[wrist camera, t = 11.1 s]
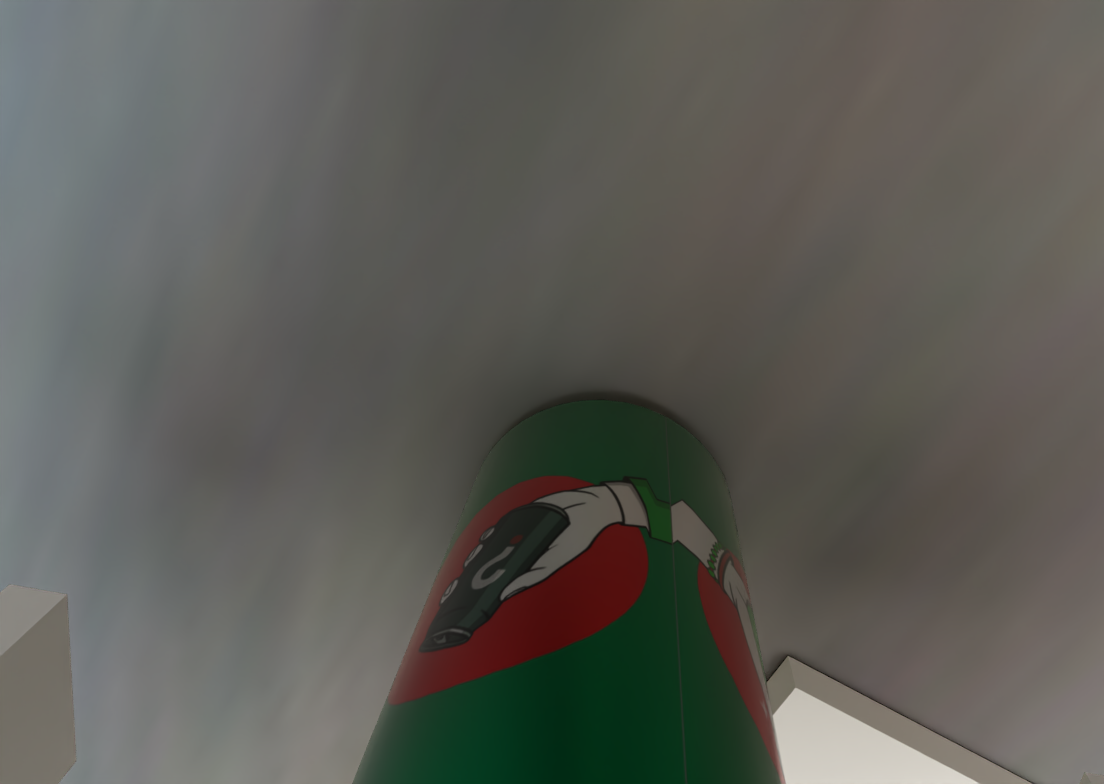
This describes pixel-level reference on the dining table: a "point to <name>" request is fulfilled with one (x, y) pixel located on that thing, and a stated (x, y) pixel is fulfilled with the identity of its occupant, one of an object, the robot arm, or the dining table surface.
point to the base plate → (861, 738)
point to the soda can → (585, 621)
